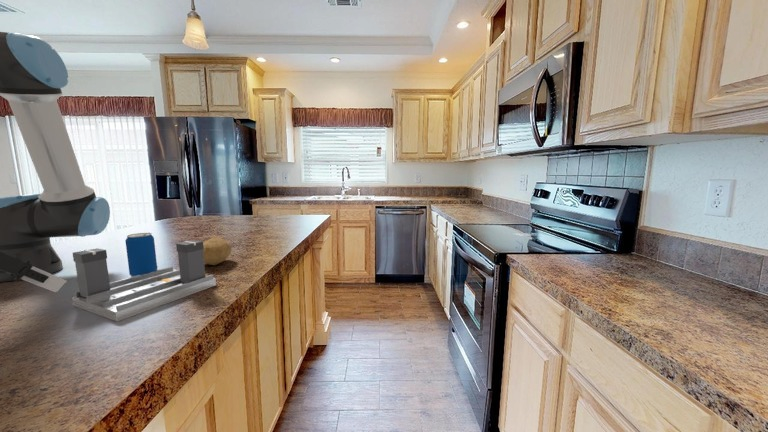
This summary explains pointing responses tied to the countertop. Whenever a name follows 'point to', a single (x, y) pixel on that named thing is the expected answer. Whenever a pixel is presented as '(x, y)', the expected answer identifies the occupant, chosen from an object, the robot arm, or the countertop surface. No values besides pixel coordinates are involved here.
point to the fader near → (91, 271)
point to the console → (141, 293)
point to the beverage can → (141, 253)
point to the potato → (215, 251)
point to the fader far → (191, 260)
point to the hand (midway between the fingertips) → (60, 286)
